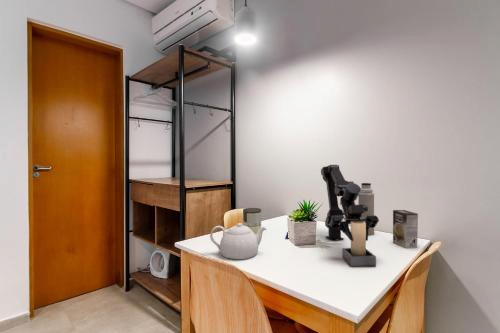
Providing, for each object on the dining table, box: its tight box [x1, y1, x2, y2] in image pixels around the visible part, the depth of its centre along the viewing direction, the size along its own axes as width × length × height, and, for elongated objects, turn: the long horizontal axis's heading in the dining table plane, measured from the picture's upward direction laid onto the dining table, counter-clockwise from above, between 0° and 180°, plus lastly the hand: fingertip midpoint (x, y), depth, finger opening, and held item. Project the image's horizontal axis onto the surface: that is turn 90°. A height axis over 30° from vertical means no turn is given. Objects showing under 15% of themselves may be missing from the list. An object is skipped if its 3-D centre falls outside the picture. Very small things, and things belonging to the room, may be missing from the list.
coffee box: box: [392, 209, 419, 249], centre depth 126 cm, size 9×6×16 cm
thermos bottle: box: [357, 182, 375, 236], centre depth 146 cm, size 8×8×28 cm
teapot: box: [209, 222, 267, 260], centre depth 118 cm, size 19×18×14 cm
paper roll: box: [350, 221, 367, 256], centre depth 106 cm, size 6×6×14 cm
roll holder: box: [341, 247, 377, 268], centre depth 106 cm, size 10×10×4 cm
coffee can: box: [242, 207, 262, 235], centre depth 147 cm, size 10×10×14 cm
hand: (359, 240), depth 105 cm, fingers closed on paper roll, 6 cm apart
